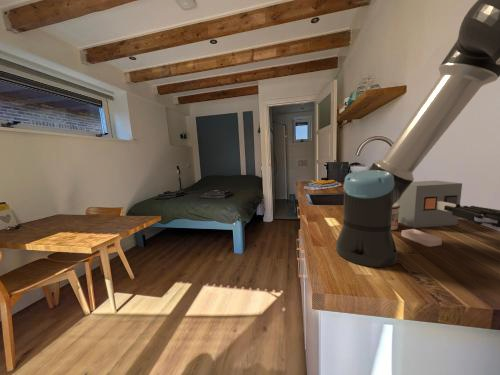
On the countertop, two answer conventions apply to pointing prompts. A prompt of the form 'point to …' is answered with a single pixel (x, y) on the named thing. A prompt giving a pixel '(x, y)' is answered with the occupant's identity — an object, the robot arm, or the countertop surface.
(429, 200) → the plunger
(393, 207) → the teacup with lid
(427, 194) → the panel
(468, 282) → the countertop surface
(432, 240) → the soap bar
